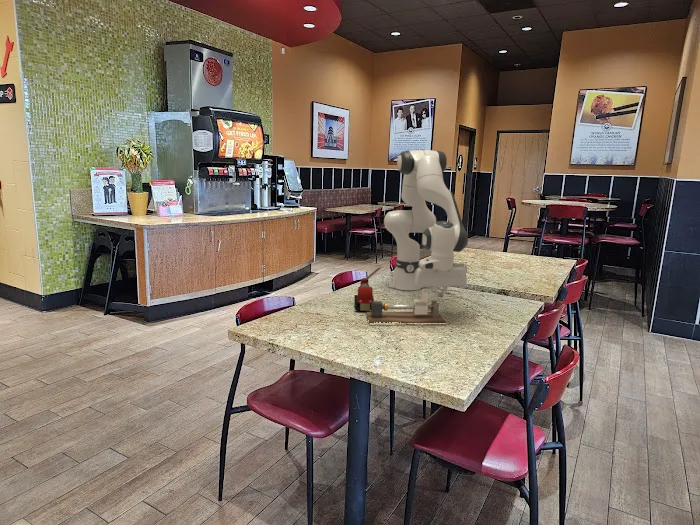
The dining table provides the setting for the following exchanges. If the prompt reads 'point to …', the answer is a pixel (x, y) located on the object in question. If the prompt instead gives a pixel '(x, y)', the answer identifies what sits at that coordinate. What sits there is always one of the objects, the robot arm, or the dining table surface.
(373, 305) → the rod
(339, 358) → the dining table surface
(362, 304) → the toy fire truck
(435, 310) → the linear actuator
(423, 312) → the sleeve
